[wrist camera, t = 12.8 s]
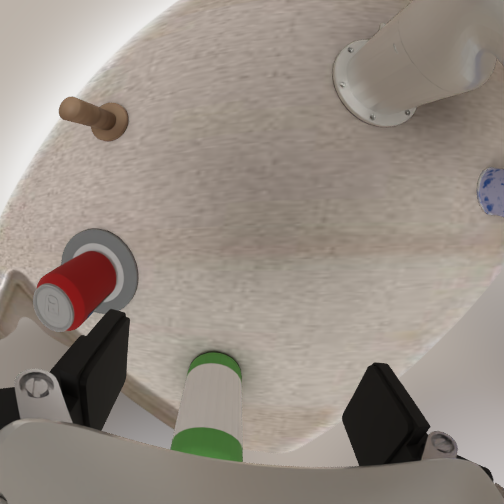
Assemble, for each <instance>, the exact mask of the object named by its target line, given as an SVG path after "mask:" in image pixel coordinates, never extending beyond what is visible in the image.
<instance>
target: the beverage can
mask: <svg viewBox="0 0 504 504" xmlns="http://www.w3.org/2000/svg"><path fill="white" fill-rule="evenodd" d="M115 286H116V272H115V269H114V267H113V265H112V263H111V262H110V260H109V259H108V258H107V257H106V256H104V255H103V254H101V253H99V252H96V251H87V252H84V253H82V254H80V255H79V256H77V257H75V258H73V259H71V260H69V261H68V262H66V263H64V264H63V265H61V266H59V267H57V268H56V269H54V270H53V271H51V272H49V273H48V274H46V275H45V276H43V277H42V278H41V279H40V281H39V283H38V285H37V289H36V291H35V293H34V296H33V305H34V309H35V312H36V314H37V316H38V318H39V319H40V321H41V322H42V323H43V324H44V325H45V326H46V327H47V328H49V329H51V330H53V331H56V332H63V331H71V330H75V329H77V328H78V327H79V326H80V325H81V324H82V323H83V322H84V321H85V320H86V319H87V318H88V317H89V316H90V315H91V314H92V313H93V312H94V311H95V310H96V309H97V308H98V307H99V306H100V305H101V304H102V303H103V302H104V301H105V300H106V299H107V297H108V296H109V295H110V294H111V293H112V292H113V290H114V289H115Z"/></svg>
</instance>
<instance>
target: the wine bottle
mask: <svg viewBox="0 0 504 504" xmlns="http://www.w3.org/2000/svg"><path fill="white" fill-rule="evenodd" d="M171 450H174V451H179V452H183V453H188V454H193V455H198V456H204V457H209V458H215V459H222V460H229V461H236V462H243V457H242V450H243V442H242V376H241V371H240V368H239V366H238V364H237V363H236V362H235V361H234V360H233V359H232V358H230V357H229V356H227V355H224V354H221V353H215V352H212V353H206V354H202V355H200V356H199V357H197V358H196V359H195V360H194V361H193V362H192V363H191V365H190V368H189V370H188V374H187V378H186V382H185V386H184V390H183V395H182V399H181V403H180V408H179V412H178V417H177V421H176V426H175V430H174V435H173V439H172V445H171Z"/></svg>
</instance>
